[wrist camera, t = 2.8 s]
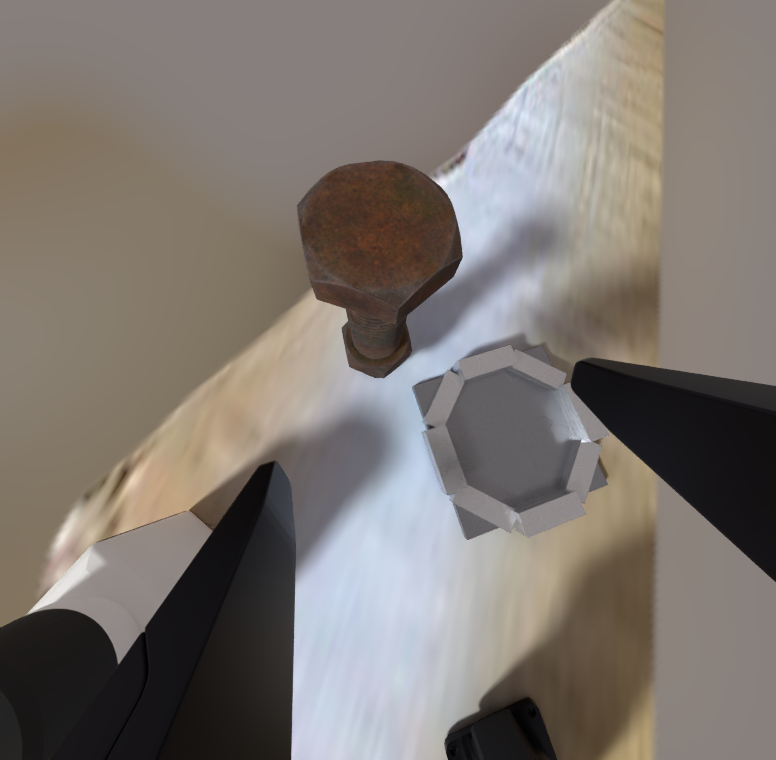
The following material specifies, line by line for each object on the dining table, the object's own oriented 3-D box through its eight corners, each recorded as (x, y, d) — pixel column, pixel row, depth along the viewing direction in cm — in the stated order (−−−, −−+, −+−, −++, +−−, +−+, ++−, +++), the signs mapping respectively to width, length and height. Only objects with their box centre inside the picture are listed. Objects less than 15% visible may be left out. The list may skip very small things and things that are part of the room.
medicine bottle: (189, 507, 20) (-70, 595, 8) (262, 572, 19) (90, 769, 8) (109, 598, 18) (-347, 864, 7) (185, 673, 18) (-178, 1113, 6)
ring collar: (612, 488, 22) (637, 493, 20) (460, 548, 20) (470, 560, 18) (541, 340, 24) (557, 330, 22) (402, 383, 23) (406, 376, 21)
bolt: (381, 320, 24) (393, 130, 10) (420, 361, 23) (497, 223, 9) (330, 361, 23) (255, 218, 8) (369, 405, 22) (361, 332, 8)
